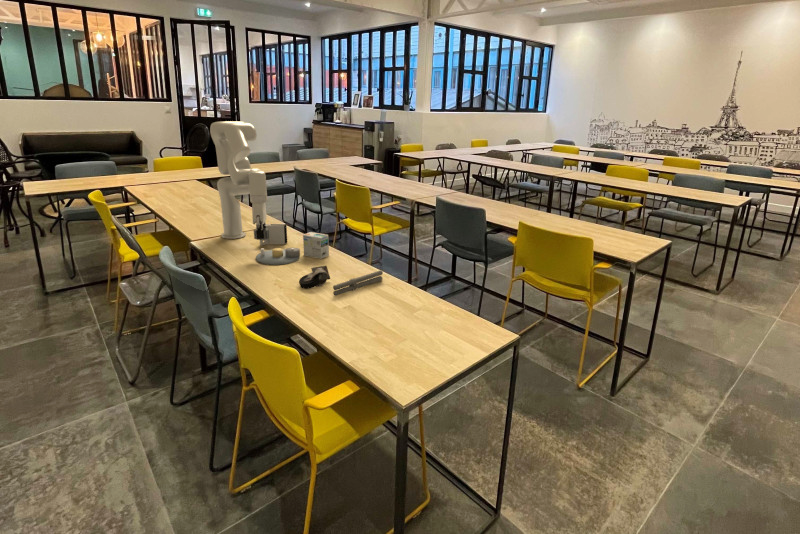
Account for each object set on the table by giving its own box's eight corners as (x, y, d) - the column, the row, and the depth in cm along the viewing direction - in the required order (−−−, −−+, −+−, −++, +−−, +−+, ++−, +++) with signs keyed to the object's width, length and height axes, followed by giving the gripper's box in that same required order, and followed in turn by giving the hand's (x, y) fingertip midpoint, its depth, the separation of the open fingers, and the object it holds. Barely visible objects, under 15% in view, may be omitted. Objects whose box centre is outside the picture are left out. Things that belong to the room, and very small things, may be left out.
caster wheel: (300, 294, 187) (305, 282, 196) (326, 290, 186) (330, 278, 195) (295, 280, 184) (300, 268, 193) (322, 276, 183) (326, 264, 192)
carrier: (259, 251, 228) (259, 242, 227) (301, 251, 231) (301, 242, 229) (252, 265, 210) (251, 255, 208) (298, 264, 212) (297, 255, 211)
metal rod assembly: (378, 279, 200) (378, 268, 198) (383, 281, 198) (383, 270, 196) (331, 295, 182) (331, 284, 180) (336, 297, 180) (335, 286, 178)
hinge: (260, 245, 236) (258, 226, 233) (259, 242, 241) (258, 224, 238) (287, 244, 240) (286, 225, 237) (287, 241, 245) (286, 223, 242)
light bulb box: (329, 255, 226) (329, 234, 222) (321, 259, 220) (321, 237, 217) (311, 251, 230) (310, 231, 226) (303, 255, 224) (302, 234, 221)
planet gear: (255, 235, 218) (255, 227, 217) (270, 235, 219) (269, 227, 218) (253, 240, 212) (252, 231, 210) (268, 239, 213) (267, 231, 211)
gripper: (253, 194, 217) (256, 231, 223) (246, 202, 201) (250, 241, 207) (270, 194, 218) (272, 231, 224) (264, 202, 201) (267, 241, 207)
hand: (261, 236), depth 215 cm, fingers closed on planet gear, 6 cm apart
